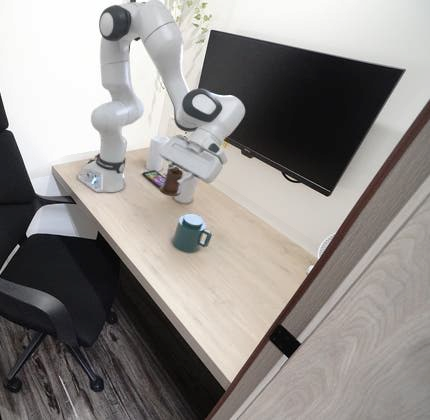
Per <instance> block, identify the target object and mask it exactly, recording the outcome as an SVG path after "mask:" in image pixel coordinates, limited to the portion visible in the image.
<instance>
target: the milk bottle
mask: <svg viewBox="0 0 430 420" xmlns="http://www.w3.org/2000/svg"><path fill="white" fill-rule="evenodd" d="M181 171H182V172H183V175H182V178H184V177H186V176H188V175H187V173H188V172H186V171H184V170H182V169H181ZM198 182H199V179H198V178H196V177H194V178H193V179H192V180H189V181H187V182H185V183H184V184H183V185H182V186H181V185H179V187H180V188H181V194H180V195H178V196H173V199H174V200H175V201H176V202H178V203H181V204H189V203H192V201H193V199H194V195H195V191H196V188H197V186H198Z"/></svg>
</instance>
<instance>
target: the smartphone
mask: <svg viewBox="0 0 430 420" xmlns="http://www.w3.org/2000/svg"><path fill="white" fill-rule="evenodd" d="M142 175H143V176H144V177H145V178H146V179H147V180H149V181H150V182H151V183H152V184H154V185H155V186H156V187H157V188H160V185H162V184H164V183H165V179H166V176H165V175H163V174H161V173H160V172H159V171H155V170H153V171H150V170H148V171H144V172H142Z"/></svg>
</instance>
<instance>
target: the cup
mask: <svg viewBox="0 0 430 420" xmlns="http://www.w3.org/2000/svg"><path fill="white" fill-rule="evenodd" d="M169 140H170V138H169V137H168V136H166V135H163V134H154V135H152V136H151V138H150V143H149V147H148V152H147V158H146V162H145V169H147V170H148V171H153V170H155V171H157V172H161V171H162V170H163V167H164V164H165V163H164V162H165V160H164V159H163V158H162V157H161V156H160V155H159V150H160V149H161V148H162V147H163V146H164V145H165V144H166V143H167V142H168V141H169Z"/></svg>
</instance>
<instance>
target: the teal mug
mask: <svg viewBox="0 0 430 420" xmlns="http://www.w3.org/2000/svg"><path fill="white" fill-rule="evenodd" d="M206 228H207V223H206V222H205V220H204V219H203V217H201V216H200V215H197V214H196V213H195V214H194V213H187V214H183V215H181V216H180V217H179V218H178V221H177V225H176V227H175V231H174V234H173V238H172V241H171V243H172V245H173V246H174V248H176V249H177V250H179V251H180V252H183V253H189V254H191V253H195V252H196V251H198V249H199V246H200V247H201V248H207V247H208V246H209V244H210V241H211V240H212V237H213V234H212V231H209V230H208V229H206ZM204 235H206V237H205V240H204V242H203V241H202V239H203V236H204Z"/></svg>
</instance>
